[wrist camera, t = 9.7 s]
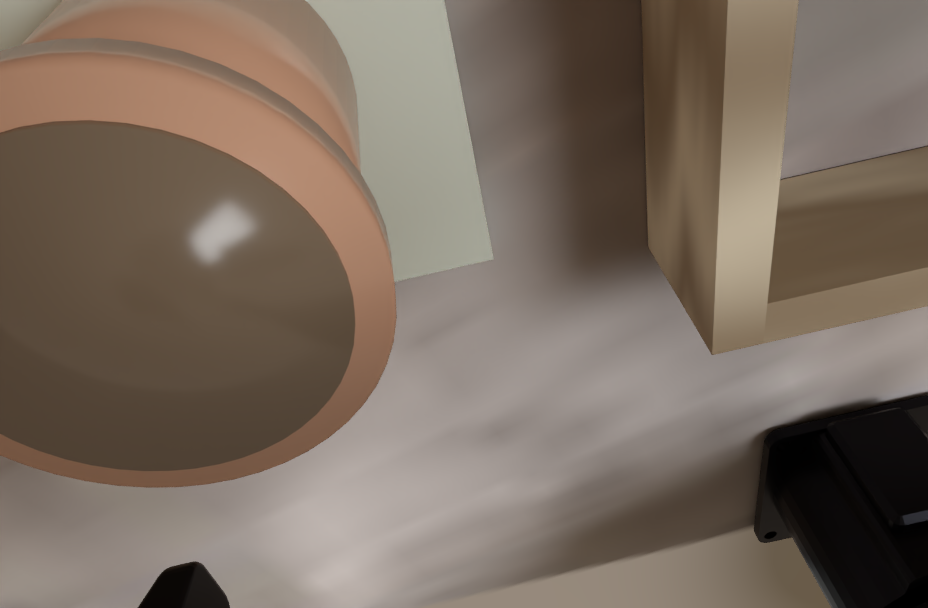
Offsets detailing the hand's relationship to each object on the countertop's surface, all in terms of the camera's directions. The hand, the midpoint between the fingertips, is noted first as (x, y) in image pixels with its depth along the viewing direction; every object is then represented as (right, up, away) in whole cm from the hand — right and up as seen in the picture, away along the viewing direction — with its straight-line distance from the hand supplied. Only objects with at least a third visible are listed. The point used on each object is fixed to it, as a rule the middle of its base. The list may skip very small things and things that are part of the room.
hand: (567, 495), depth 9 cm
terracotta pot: (-7, +6, +7) cm, 12 cm away
